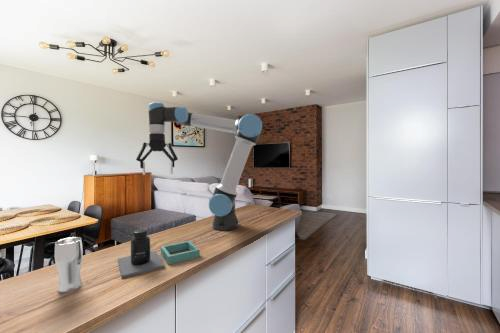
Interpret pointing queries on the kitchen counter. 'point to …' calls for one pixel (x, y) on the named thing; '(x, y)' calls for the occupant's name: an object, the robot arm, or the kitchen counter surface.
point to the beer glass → (69, 263)
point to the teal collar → (179, 257)
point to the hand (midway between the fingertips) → (158, 174)
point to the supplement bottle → (140, 247)
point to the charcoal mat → (131, 270)
